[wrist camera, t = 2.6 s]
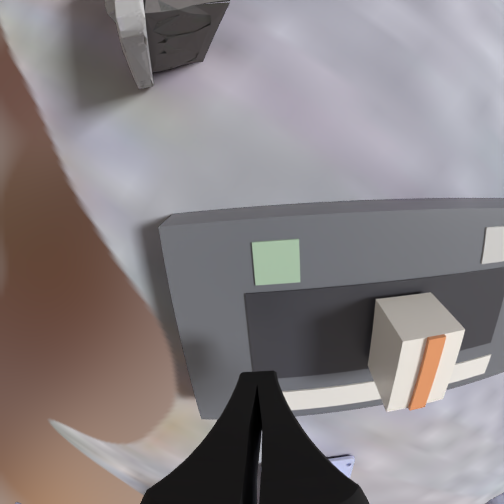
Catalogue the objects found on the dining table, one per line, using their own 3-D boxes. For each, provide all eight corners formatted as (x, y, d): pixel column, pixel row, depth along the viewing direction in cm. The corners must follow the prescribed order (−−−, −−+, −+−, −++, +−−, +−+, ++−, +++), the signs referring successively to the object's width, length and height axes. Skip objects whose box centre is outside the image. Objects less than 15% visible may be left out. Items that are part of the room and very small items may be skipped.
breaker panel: (493, 351, 19) (509, 370, 17) (206, 392, 20) (201, 420, 18) (526, 198, 15) (551, 208, 13) (172, 213, 16) (157, 227, 14)
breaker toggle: (417, 357, 15) (444, 401, 12) (367, 365, 16) (387, 414, 12) (430, 292, 14) (467, 332, 11) (375, 299, 14) (404, 344, 11)
